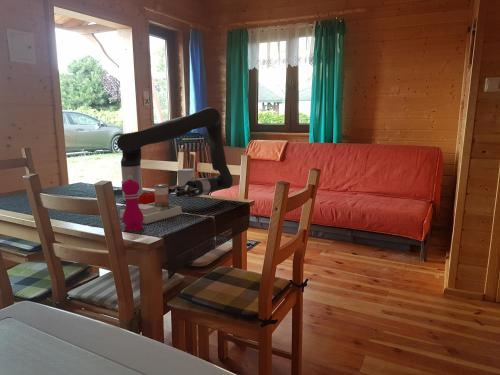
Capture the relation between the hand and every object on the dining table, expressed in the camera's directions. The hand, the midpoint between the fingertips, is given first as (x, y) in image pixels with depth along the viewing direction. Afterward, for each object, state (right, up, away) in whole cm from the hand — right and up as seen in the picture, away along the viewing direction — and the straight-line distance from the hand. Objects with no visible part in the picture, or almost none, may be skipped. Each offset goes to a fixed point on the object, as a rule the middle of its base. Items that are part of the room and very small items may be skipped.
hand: (169, 193), depth 154 cm
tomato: (-12, -7, +16) cm, 22 cm away
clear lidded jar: (-2, -9, -2) cm, 9 cm away
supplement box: (-1, 0, +50) cm, 50 cm away
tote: (-7, -10, -4) cm, 13 cm away
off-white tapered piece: (-9, -10, -7) cm, 15 cm away
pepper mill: (-8, -13, -21) cm, 26 cm away
